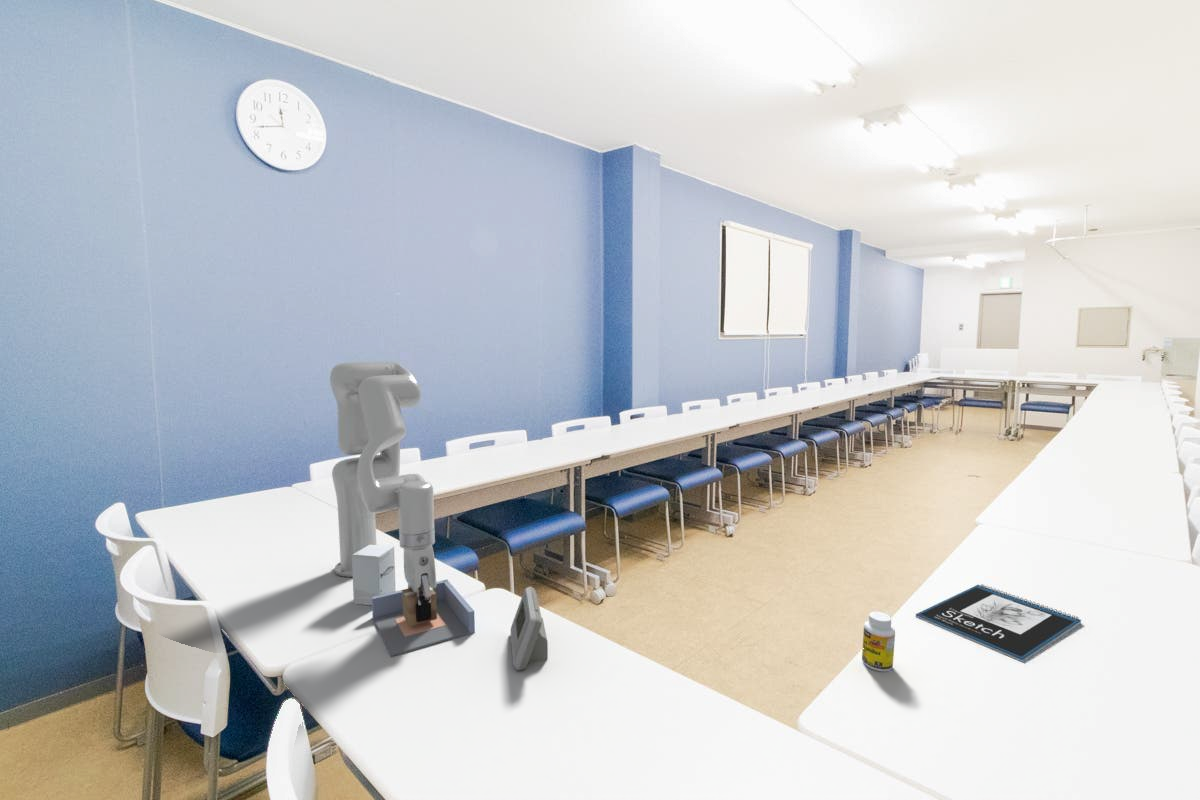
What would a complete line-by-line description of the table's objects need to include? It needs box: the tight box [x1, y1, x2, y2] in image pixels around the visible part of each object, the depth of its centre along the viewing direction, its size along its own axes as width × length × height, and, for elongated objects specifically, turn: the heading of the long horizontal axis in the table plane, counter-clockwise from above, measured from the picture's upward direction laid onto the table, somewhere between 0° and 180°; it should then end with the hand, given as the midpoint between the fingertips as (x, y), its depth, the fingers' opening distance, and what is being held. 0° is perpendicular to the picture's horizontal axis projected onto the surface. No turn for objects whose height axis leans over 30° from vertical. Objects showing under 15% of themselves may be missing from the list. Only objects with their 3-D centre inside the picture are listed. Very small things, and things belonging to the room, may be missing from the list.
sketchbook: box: [915, 583, 1082, 663], centre depth 129 cm, size 22×30×2 cm
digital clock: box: [510, 586, 549, 671], centre depth 115 cm, size 16×9×11 cm, turn 0°
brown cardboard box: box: [401, 585, 437, 626], centre depth 126 cm, size 6×6×6 cm
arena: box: [371, 579, 476, 658], centre depth 126 cm, size 19×18×5 cm
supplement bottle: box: [861, 611, 896, 672], centre depth 110 cm, size 6×6×10 cm
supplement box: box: [352, 544, 397, 606], centre depth 138 cm, size 7×7×13 cm
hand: (419, 613), depth 126 cm, fingers closed on brown cardboard box, 5 cm apart
